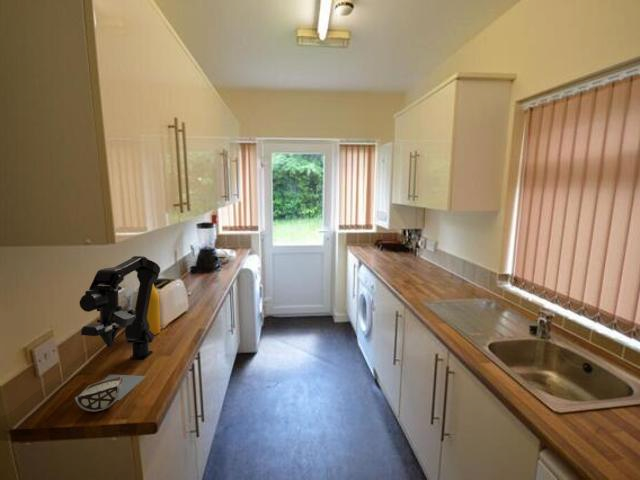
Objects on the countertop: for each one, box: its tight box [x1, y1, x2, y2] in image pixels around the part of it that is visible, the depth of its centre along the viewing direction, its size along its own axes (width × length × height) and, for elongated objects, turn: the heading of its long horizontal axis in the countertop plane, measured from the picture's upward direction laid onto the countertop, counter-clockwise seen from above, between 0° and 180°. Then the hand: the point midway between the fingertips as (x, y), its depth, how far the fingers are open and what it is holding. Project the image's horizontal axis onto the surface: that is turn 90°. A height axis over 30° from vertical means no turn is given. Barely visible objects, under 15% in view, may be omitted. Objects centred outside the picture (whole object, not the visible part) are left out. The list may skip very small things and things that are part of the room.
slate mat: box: [101, 374, 147, 402], centre depth 117 cm, size 15×14×1 cm
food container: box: [74, 376, 122, 412], centre depth 107 cm, size 12×6×10 cm
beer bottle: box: [147, 282, 161, 336], centre depth 163 cm, size 9×9×29 cm
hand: (109, 347), depth 121 cm, fingers closed
